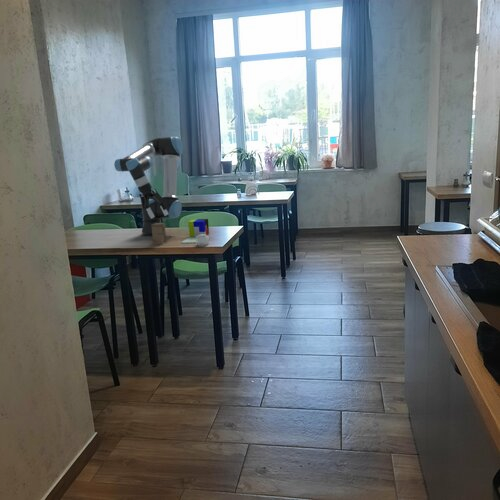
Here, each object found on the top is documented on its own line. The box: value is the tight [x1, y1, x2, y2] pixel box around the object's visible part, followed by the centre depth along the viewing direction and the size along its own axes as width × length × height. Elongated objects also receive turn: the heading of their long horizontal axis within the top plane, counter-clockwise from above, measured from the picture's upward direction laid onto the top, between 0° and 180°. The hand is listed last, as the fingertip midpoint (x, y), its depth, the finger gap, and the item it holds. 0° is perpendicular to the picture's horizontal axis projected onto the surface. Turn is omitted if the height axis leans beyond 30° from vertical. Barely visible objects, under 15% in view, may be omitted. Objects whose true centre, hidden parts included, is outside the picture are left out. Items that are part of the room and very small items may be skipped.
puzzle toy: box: [187, 218, 210, 237], centre depth 299 cm, size 10×10×10 cm
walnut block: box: [151, 222, 167, 245], centre depth 281 cm, size 6×6×12 cm
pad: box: [180, 236, 211, 244], centre depth 284 cm, size 14×14×1 cm
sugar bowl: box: [196, 234, 210, 247], centre depth 271 cm, size 7×7×6 cm
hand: (159, 216), depth 279 cm, fingers open, 13 cm apart
